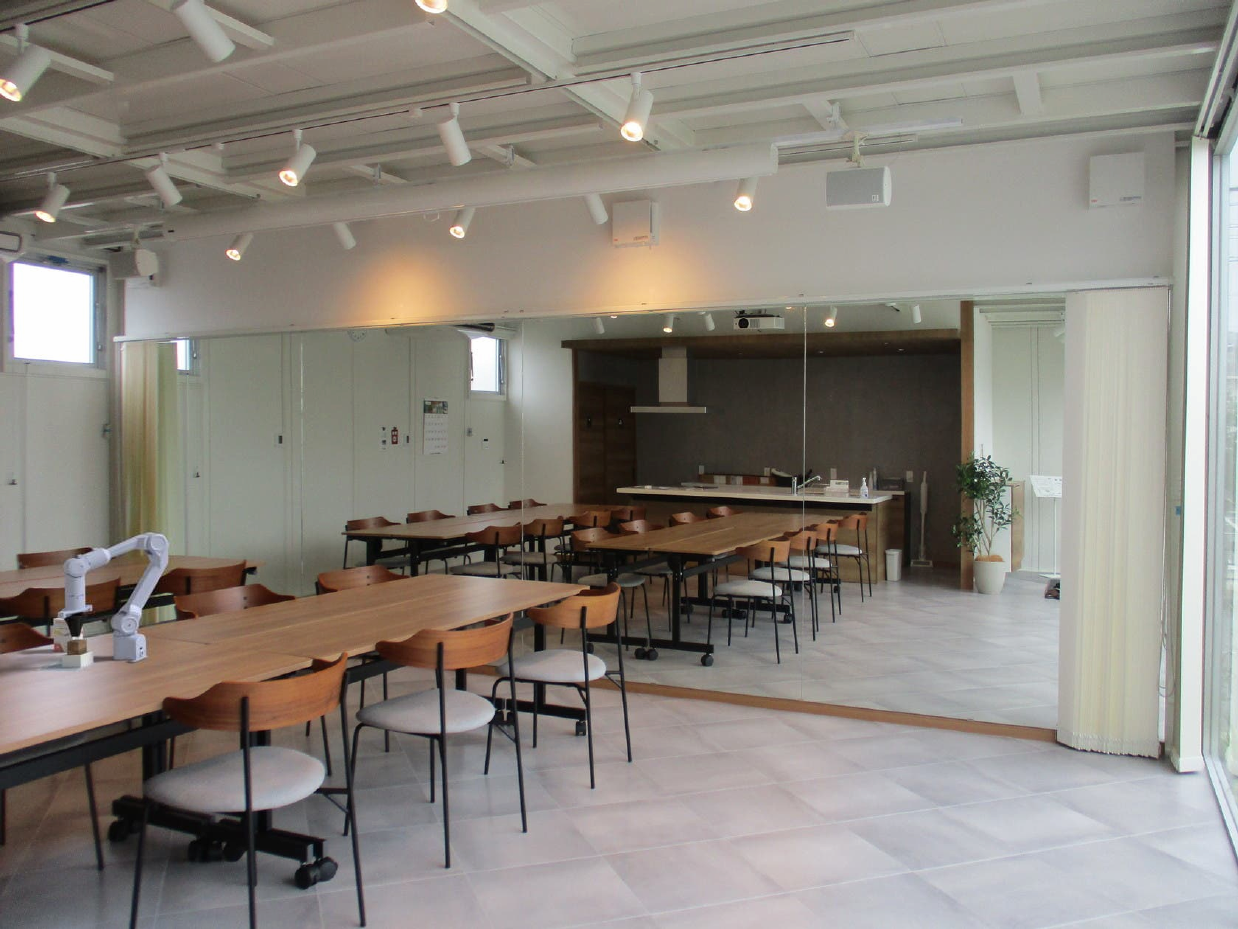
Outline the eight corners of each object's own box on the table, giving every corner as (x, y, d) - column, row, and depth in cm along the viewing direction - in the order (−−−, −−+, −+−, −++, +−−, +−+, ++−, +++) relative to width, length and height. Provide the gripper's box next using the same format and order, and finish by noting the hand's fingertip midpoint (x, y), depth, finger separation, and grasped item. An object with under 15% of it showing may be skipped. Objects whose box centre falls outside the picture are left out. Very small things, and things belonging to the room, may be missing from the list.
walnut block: (87, 654, 308) (86, 639, 308) (79, 657, 304) (78, 642, 304) (75, 654, 308) (75, 639, 308) (67, 657, 304) (66, 642, 304)
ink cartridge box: (53, 651, 331) (51, 610, 331) (64, 648, 336) (63, 607, 336) (72, 652, 329) (71, 611, 329) (84, 649, 334) (82, 608, 333)
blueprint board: (97, 665, 309) (97, 651, 309) (76, 673, 298) (75, 658, 298) (57, 665, 310) (57, 650, 310) (34, 673, 299) (34, 658, 299)
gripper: (77, 591, 313) (78, 632, 313) (48, 598, 298) (48, 641, 299) (97, 591, 312) (98, 632, 313) (69, 598, 298) (69, 641, 298)
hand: (75, 636), depth 306 cm, fingers closed
